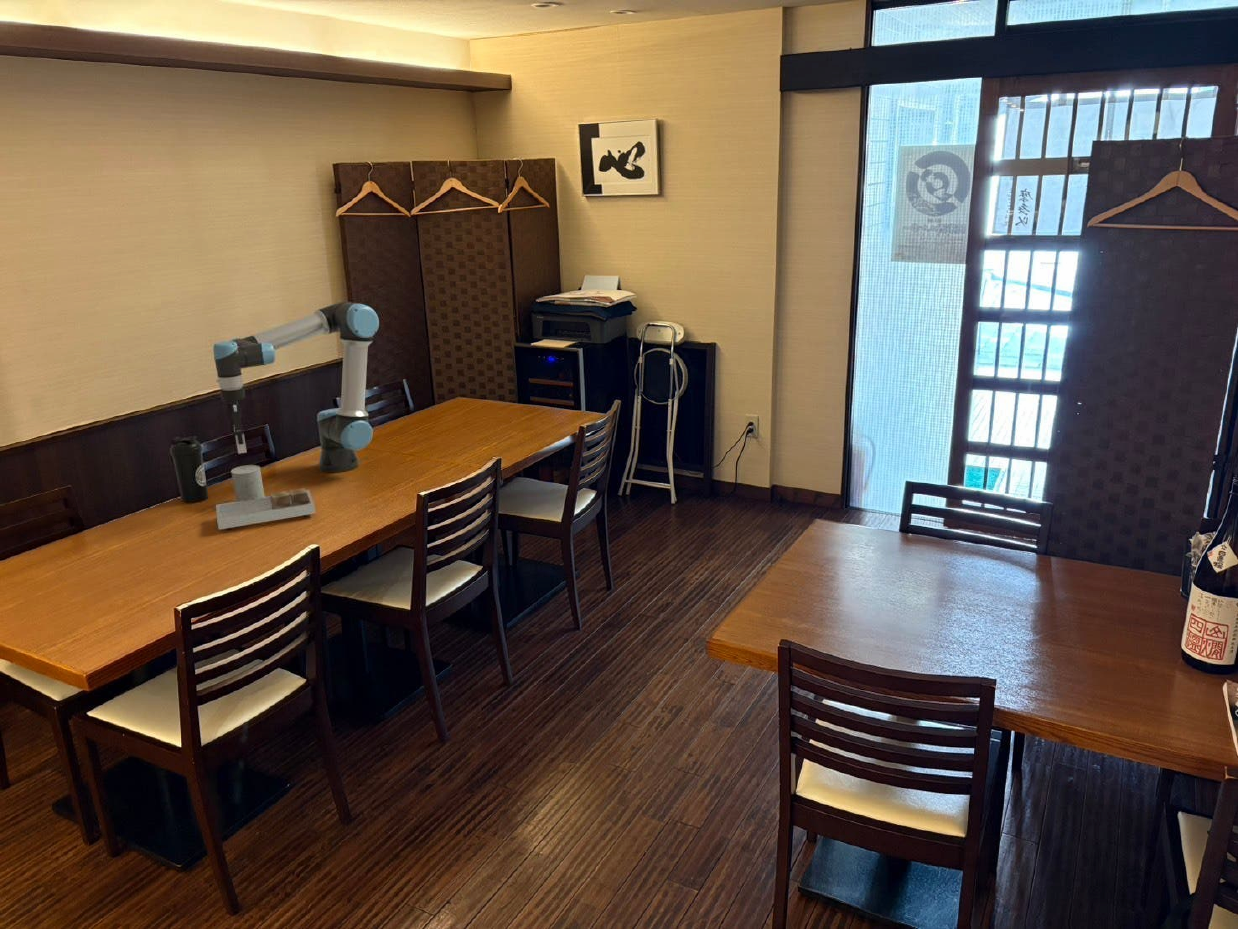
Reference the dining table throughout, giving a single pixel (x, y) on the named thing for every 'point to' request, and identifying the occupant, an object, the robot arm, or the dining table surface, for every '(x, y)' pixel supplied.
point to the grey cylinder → (247, 482)
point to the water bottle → (189, 469)
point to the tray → (258, 511)
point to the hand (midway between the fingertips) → (241, 447)
